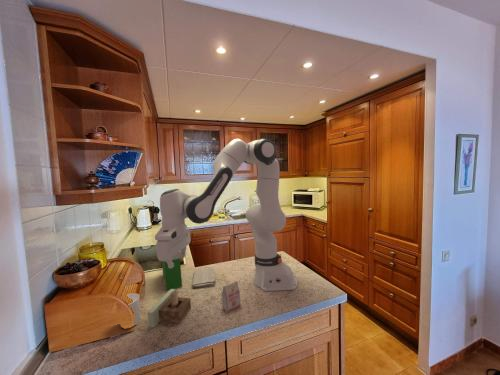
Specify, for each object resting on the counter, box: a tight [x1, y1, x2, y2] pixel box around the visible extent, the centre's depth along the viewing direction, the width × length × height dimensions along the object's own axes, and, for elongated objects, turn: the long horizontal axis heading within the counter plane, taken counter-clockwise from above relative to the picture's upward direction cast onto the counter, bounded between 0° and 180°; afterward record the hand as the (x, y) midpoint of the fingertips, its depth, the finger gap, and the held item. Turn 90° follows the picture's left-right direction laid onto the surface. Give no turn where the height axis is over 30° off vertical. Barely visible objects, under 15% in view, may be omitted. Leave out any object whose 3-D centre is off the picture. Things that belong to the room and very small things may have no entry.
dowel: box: [170, 290, 179, 308], centre depth 89 cm, size 3×3×8 cm
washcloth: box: [191, 267, 216, 290], centre depth 117 cm, size 12×18×3 cm, turn 13°
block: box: [159, 296, 192, 324], centre depth 89 cm, size 9×9×4 cm
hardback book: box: [161, 251, 183, 292], centre depth 115 cm, size 18×7×24 cm, turn 27°
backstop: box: [147, 289, 176, 328], centre depth 90 cm, size 2×16×6 cm, turn 169°
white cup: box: [126, 292, 141, 326], centre depth 85 cm, size 8×8×10 cm
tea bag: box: [221, 281, 242, 313], centre depth 92 cm, size 4×7×10 cm, turn 126°
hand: (177, 262), depth 89 cm, fingers open, 8 cm apart
